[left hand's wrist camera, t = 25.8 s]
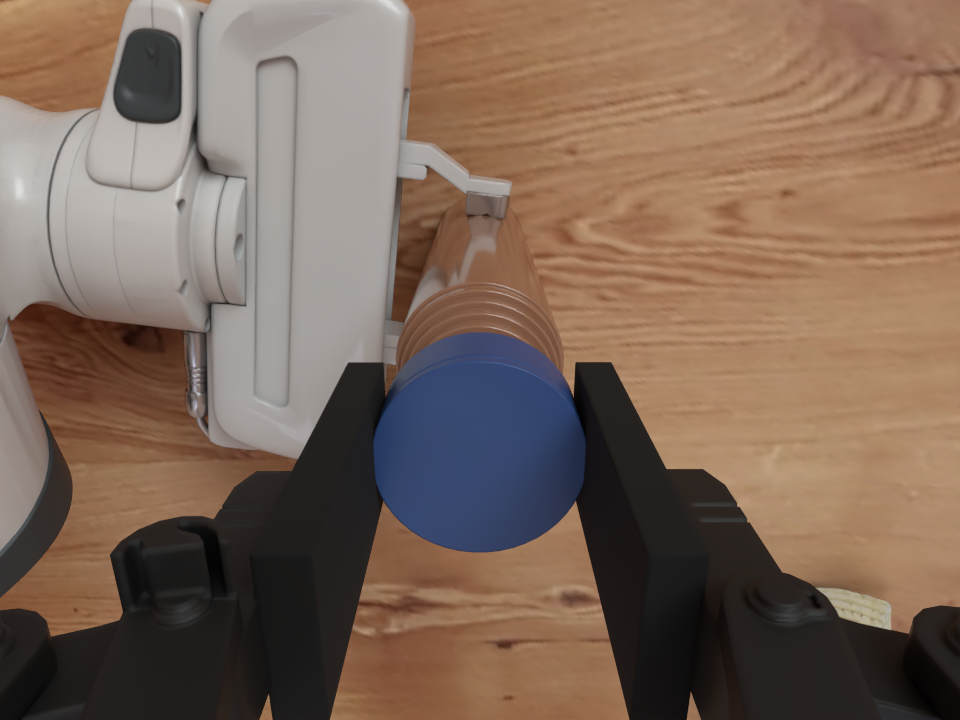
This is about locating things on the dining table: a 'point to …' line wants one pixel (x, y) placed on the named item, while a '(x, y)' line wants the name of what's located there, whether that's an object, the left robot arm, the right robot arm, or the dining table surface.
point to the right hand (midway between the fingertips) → (499, 266)
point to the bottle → (479, 287)
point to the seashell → (859, 607)
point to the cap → (479, 444)
